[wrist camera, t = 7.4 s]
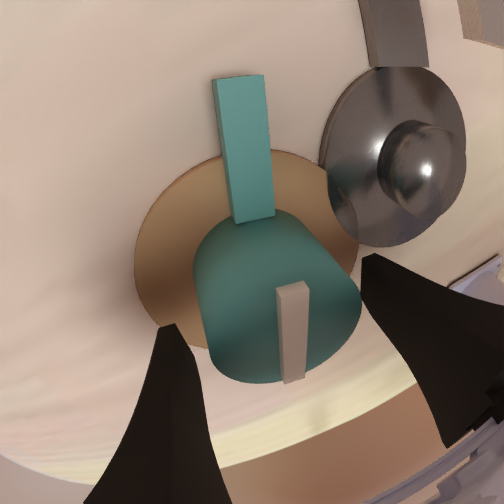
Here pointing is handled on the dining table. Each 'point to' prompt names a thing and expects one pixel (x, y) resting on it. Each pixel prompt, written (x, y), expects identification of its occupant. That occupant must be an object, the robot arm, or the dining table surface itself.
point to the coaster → (209, 215)
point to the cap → (265, 262)
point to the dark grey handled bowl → (400, 127)
